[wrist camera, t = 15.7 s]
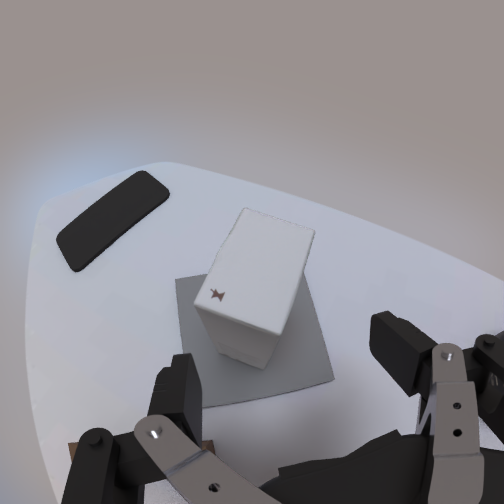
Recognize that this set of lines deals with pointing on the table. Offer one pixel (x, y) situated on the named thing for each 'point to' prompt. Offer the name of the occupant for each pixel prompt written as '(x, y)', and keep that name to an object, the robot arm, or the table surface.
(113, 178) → the table surface
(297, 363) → the rubber mat
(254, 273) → the skincare box
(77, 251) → the phone
